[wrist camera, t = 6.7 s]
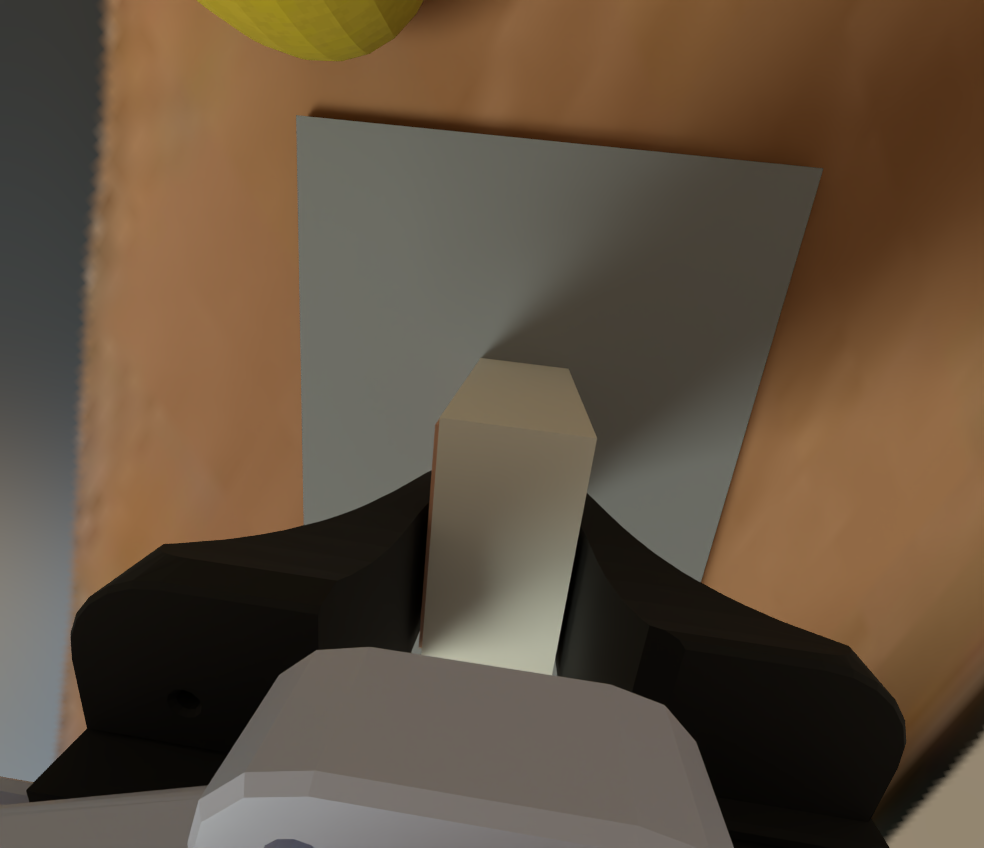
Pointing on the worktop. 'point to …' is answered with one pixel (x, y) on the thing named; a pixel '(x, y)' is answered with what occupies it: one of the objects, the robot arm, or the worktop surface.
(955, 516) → the worktop surface
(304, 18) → the lemon
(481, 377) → the cream upright block
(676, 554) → the mat
